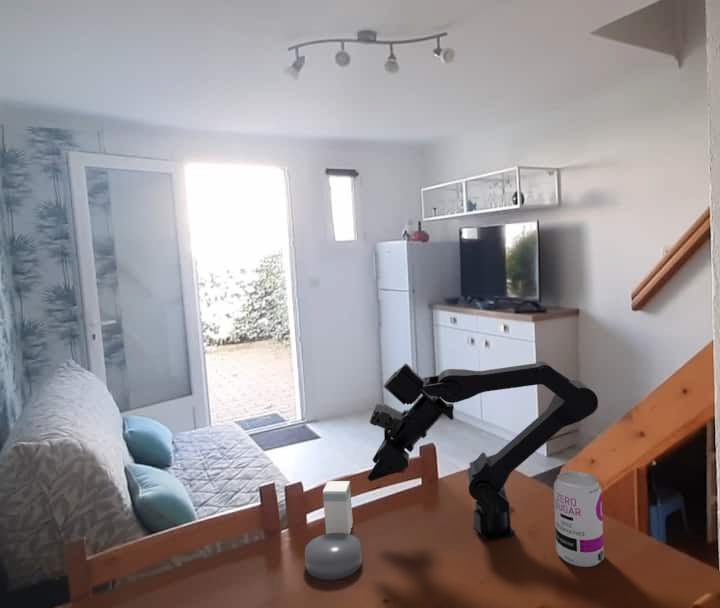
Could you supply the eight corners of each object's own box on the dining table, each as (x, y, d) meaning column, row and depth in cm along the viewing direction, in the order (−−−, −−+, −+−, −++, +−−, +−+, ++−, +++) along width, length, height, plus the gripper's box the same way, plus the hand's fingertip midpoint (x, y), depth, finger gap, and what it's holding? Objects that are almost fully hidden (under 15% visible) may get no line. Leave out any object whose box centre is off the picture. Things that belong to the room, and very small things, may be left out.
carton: (352, 524, 114) (349, 481, 113) (349, 536, 109) (345, 491, 108) (330, 524, 115) (327, 481, 114) (326, 536, 110) (322, 491, 109)
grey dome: (353, 542, 107) (352, 528, 106) (369, 571, 96) (367, 556, 96) (301, 553, 104) (300, 539, 103) (311, 585, 93) (310, 570, 93)
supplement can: (603, 547, 98) (600, 472, 97) (604, 572, 91) (601, 491, 90) (558, 540, 102) (555, 468, 100) (555, 564, 94) (551, 486, 93)
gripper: (394, 382, 117) (350, 430, 119) (386, 405, 98) (335, 462, 101) (431, 414, 116) (386, 462, 119) (430, 444, 98) (377, 500, 100)
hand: (371, 470), depth 110 cm, fingers open, 9 cm apart
